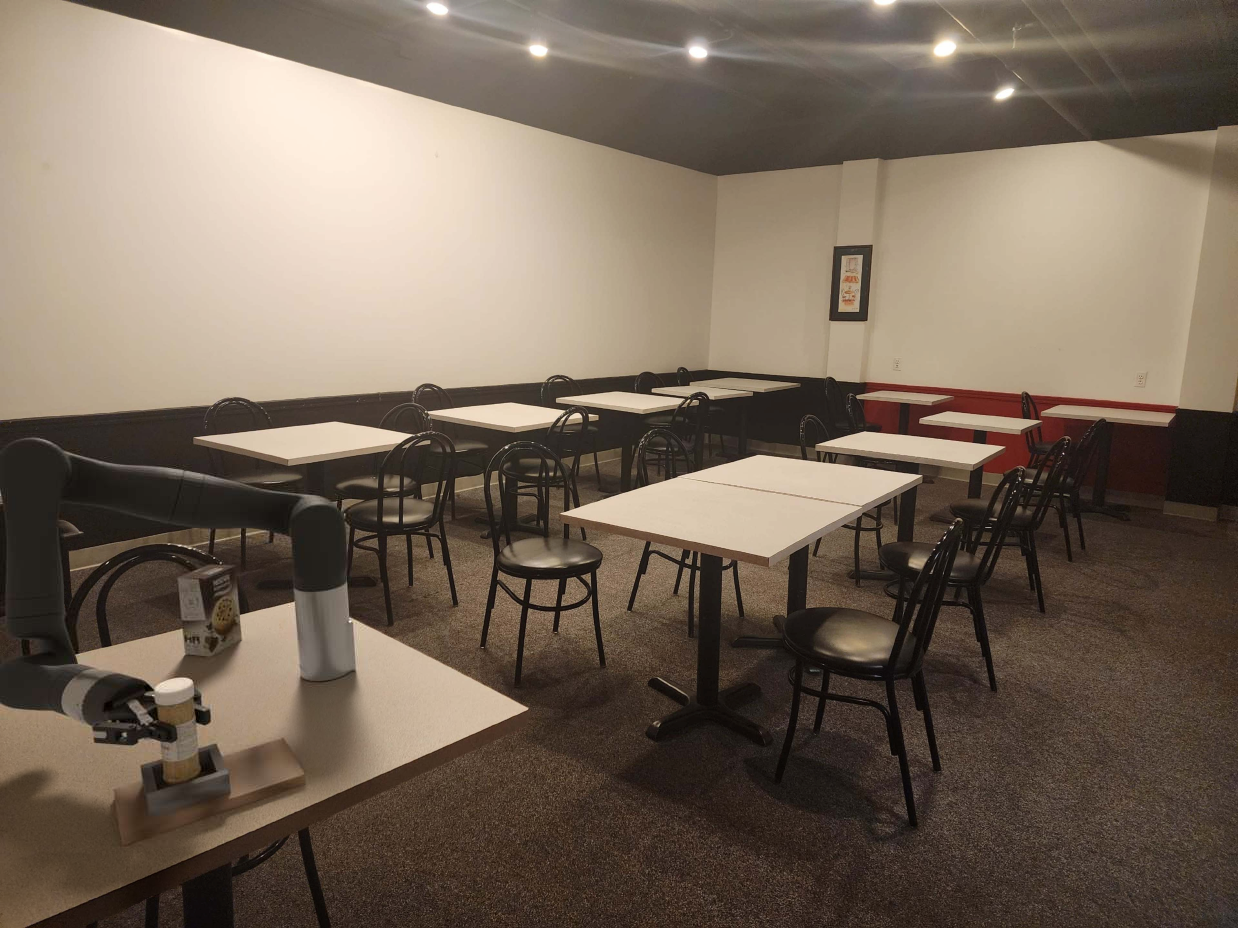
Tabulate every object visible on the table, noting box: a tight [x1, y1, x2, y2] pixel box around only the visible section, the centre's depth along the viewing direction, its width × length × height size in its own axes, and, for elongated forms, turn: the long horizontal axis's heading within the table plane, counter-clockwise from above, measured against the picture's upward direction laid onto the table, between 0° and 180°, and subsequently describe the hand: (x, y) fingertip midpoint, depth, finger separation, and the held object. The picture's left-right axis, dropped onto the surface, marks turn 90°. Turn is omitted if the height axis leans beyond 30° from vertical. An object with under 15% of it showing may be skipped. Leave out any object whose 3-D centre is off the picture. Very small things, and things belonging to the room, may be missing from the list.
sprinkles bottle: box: [153, 677, 201, 784], centre depth 102 cm, size 5×5×14 cm
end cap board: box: [113, 737, 307, 847], centre depth 105 cm, size 22×12×4 cm, turn 127°
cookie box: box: [177, 564, 243, 658], centre depth 152 cm, size 9×6×16 cm
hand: (191, 725), depth 101 cm, fingers closed on sprinkles bottle, 4 cm apart
